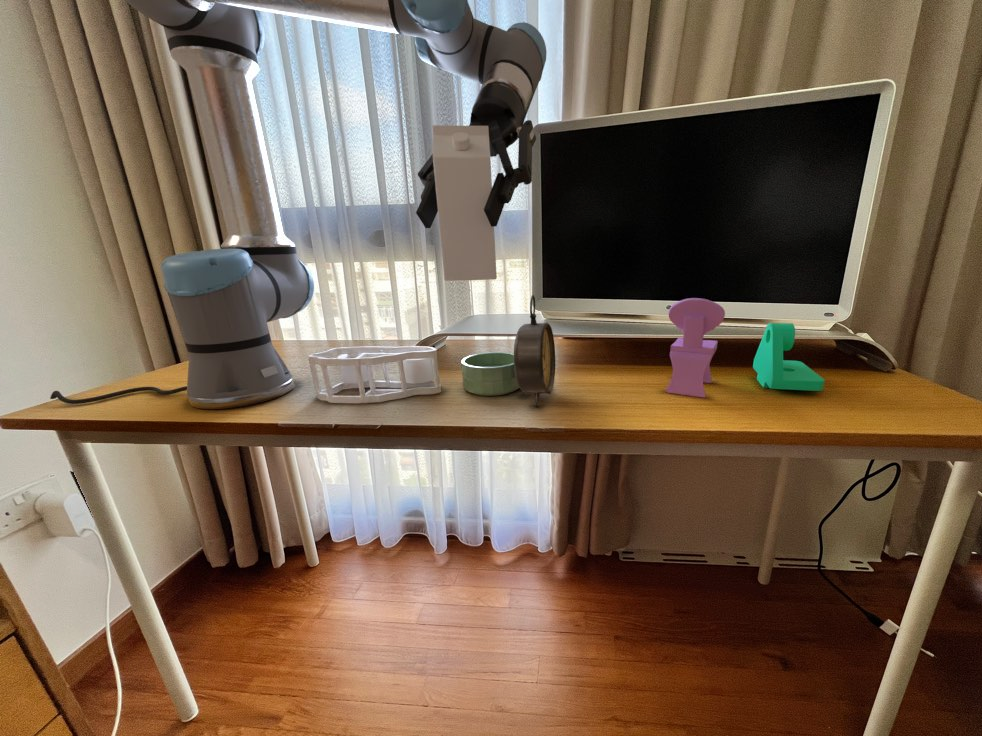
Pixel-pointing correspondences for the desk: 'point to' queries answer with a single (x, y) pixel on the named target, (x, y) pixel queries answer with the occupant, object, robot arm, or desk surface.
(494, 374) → the bowl
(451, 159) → the milk carton
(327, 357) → the white wireframe cage
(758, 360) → the camera mount
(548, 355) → the alarm clock
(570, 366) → the desk surface
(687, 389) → the toy chair
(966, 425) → the desk surface
